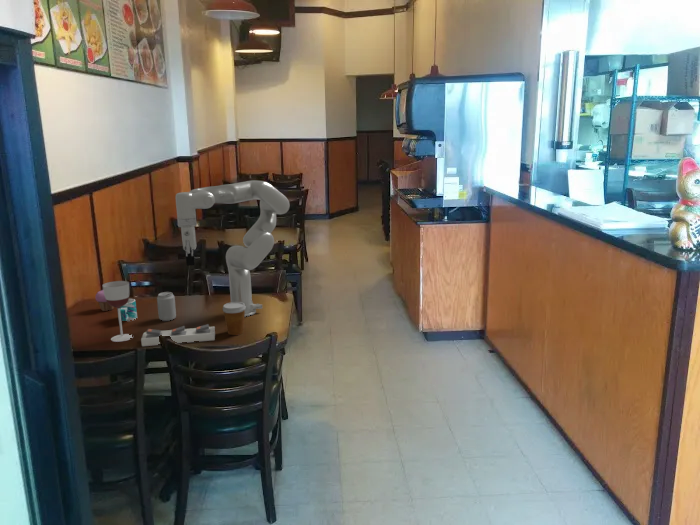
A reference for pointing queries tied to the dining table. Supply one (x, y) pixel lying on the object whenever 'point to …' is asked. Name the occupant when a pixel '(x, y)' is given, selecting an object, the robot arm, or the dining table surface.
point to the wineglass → (117, 302)
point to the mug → (128, 311)
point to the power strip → (180, 336)
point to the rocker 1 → (153, 332)
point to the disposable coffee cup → (234, 317)
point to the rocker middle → (178, 330)
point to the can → (166, 306)
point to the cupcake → (103, 301)
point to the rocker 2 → (202, 328)
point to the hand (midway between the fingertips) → (190, 264)
